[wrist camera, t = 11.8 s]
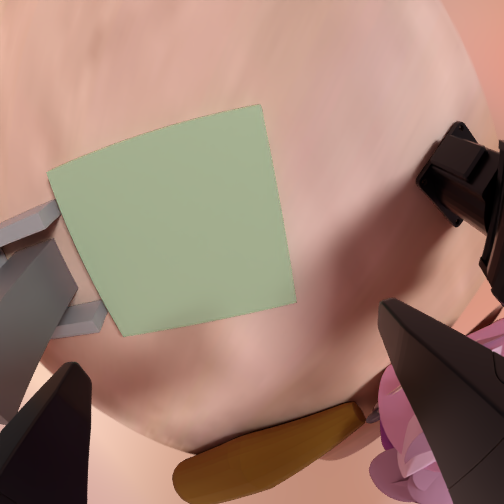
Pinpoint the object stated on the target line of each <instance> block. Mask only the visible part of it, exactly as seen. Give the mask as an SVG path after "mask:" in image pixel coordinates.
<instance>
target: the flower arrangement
mask: <svg viewBox="0 0 504 504" xmlns="http://www.w3.org/2000/svg"><path fill="white" fill-rule="evenodd" d="M467 337H469V338H471V339H473V340H474V341H476V342H478V343H480V344H482V345H483V346H485V347H487V348H489V349H491V350H492V352H493V351H494V352H496V353H498V354H500V355H502V356H503V357H504V318H502V319H499V320H497V321H495V322H494V323H493V324H491V325H489V326H487V327H485V328H482V329H480V330H478V331H476V332H474V333H471V334H469V335H467ZM378 420H380V432H381V441H382V445H383V447H384V449H385V450H386V451H384V452H383V453H381V454H379V455H378V456H377V457H376V458H374V459H373V461H372V462H371V464H370V467H369V473H370V476H371V478H372V480H373V482H374V484H375V485H376V487H377V488H378V489H379V490H380V491H381V492H383V493H384V494H385V495H387V496H389V497H390V498H393V499H395V500H398V501H403V502H415V503H419V504H453V502H452V499H451V497H450V494H449V492H448V488H447V486H446V484H445V481H444V479H443V476H442V474H441V471H440V469H439V467H438V464H437V462H436V460H435V457H434V455H433V453H432V450H431V448H430V446H429V444H428V441H427V439H426V437H425V435H424V433H423V430H422V428H421V426H420V424H419V422H418V420H417V418H416V415H415V413H414V411H413V409H412V407H411V405H410V403H409V401H408V399H407V397H406V395H405V393H404V391H403V389H402V387H401V385H400V383H399V381H398V378H397V376H396V374H395V372H394V369H393V366H392V364H391V365H389V366H388V367H387V368H386V370H385V372H384V373H383V375H382V378H381V382H380V386H379V394H378V403H377V404H376V405H375V406H374V408H373V412H372V413H371V414H370V415H369V416H368V418H367V419H366V422H367V423H373V422H376V421H378Z"/></svg>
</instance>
